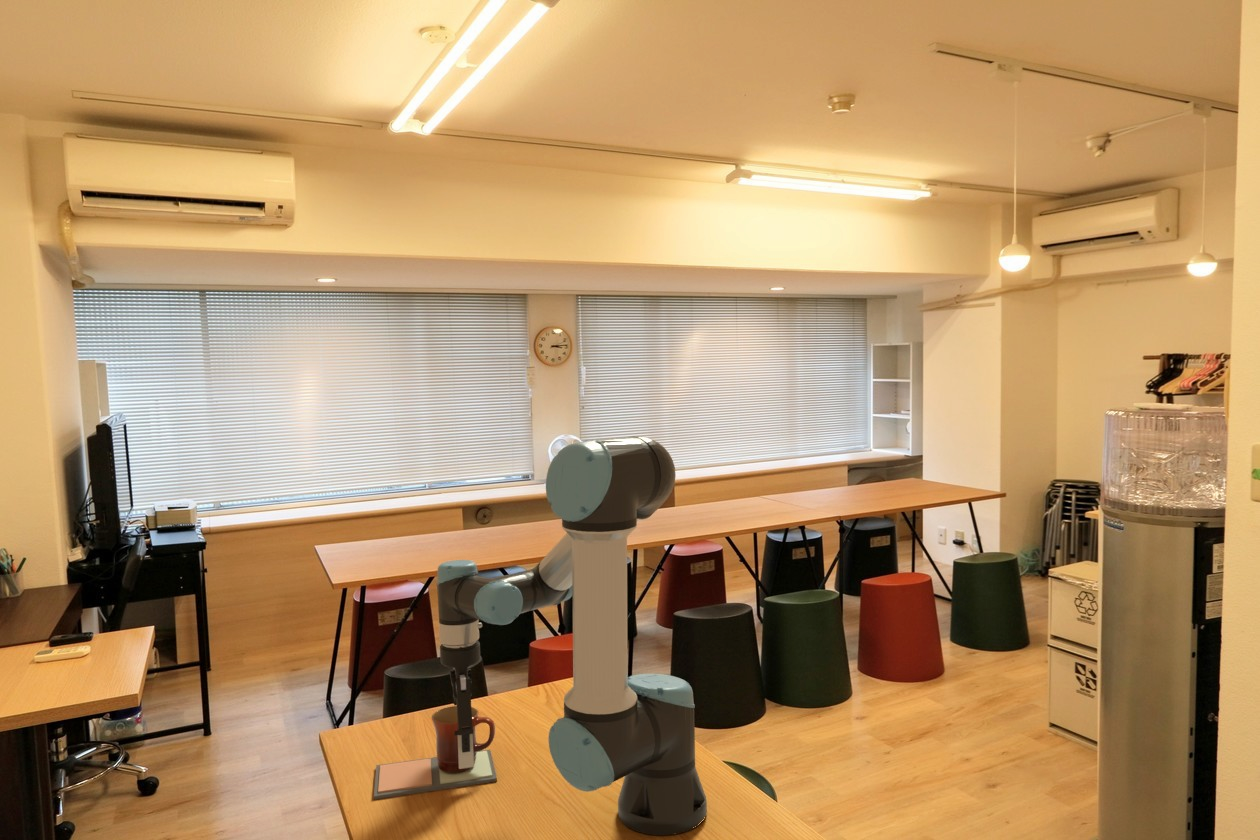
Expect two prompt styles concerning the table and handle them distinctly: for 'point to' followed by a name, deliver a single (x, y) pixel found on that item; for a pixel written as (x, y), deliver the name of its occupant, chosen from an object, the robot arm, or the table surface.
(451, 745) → the mug
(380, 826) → the table surface
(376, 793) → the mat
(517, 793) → the table surface
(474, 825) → the table surface
